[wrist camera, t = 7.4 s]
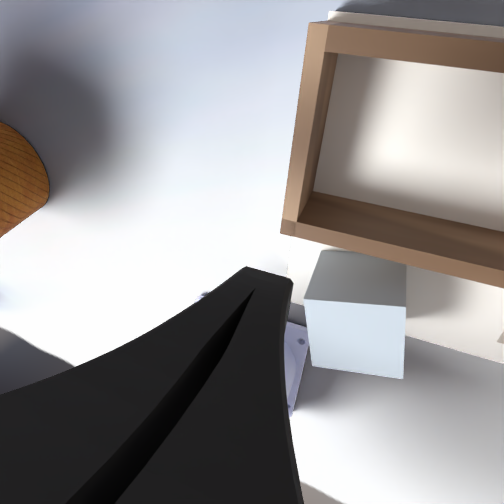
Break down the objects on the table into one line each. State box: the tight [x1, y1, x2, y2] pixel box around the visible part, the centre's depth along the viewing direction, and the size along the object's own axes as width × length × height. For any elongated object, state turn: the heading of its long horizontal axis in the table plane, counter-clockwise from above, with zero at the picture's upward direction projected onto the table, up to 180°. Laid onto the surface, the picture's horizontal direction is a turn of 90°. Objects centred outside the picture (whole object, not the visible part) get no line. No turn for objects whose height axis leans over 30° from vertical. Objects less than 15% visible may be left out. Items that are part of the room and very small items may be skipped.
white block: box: [303, 251, 406, 379], centre depth 17 cm, size 4×4×4 cm
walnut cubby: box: [280, 21, 504, 289], centre depth 13 cm, size 7×11×3 cm
